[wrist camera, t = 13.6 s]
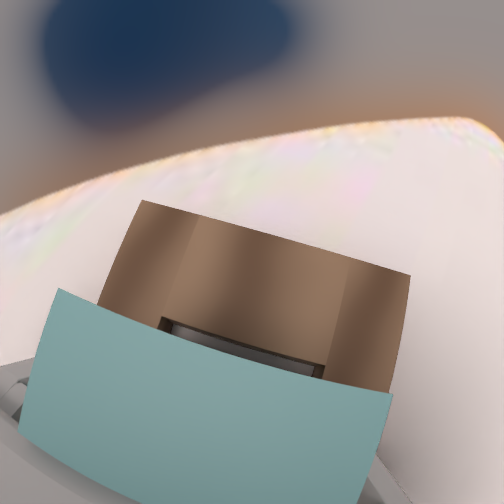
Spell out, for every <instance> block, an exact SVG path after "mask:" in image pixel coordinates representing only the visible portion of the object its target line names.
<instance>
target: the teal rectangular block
mask: <svg viewBox="0 0 504 504" xmlns="http://www.w3.org/2000/svg"><path fill="white" fill-rule="evenodd" d="M392 397H393V394H389V393H383V392H378V391H373V390H367V389H363V388H358V387H353V386H348V385H344V384H339V383H335V382H330V381H326V380H322V379H317V378H313V377H309V376H305V375H301V374H297V373H293V372H290V371H286V370H282V369H278V368H275V367H271V366H268V365H264V364H261V363H257V362H254V361H250V360H247V359H244V358H240V357H237V356H234V355H231V354H227V353H224V352H221V351H218V350H215V349H212V348H209V347H206V346H203V345H200V344H197V343H194V342H191V341H188V340H185V339H182V338H179V337H177V336H174V335H171V334H168V333H166V332H163V331H160V330H158V329H155V328H152V327H150V326H147V325H144V324H142V323H139V322H137V321H134V320H132V319H129V318H127V317H124V316H122V315H119V314H117V313H114V312H112V311H110V310H107V309H105V308H102V307H100V306H98V305H95V304H93V303H91V302H89V301H86V300H84V299H82V298H80V297H77V296H75V295H73V294H71V293H69V292H66V291H64V290H62V289H60V288H58V290H57V293H56V296H55V298H54V301H53V304H52V306H51V309H50V312H49V315H48V318H47V321H46V324H45V326H44V330H43V333H42V336H41V339H40V342H39V345H38V348H37V352H36V355H35V359H34V362H33V366H32V369H31V373H30V377H29V381H28V385H27V389H26V393H25V397H24V402H23V406H22V411H21V416H20V421H19V426H18V431H17V432H18V433H20V434H21V435H22V436H24V437H25V438H26V439H28V440H29V441H31V442H32V443H33V444H35V445H36V446H38V447H39V448H41V449H42V450H44V451H45V452H47V453H48V454H50V455H51V456H53V457H54V458H56V459H57V460H59V461H61V462H62V463H64V464H66V465H67V466H69V467H71V468H72V469H74V470H76V471H77V472H79V473H81V474H83V475H84V476H86V477H88V478H90V479H92V480H94V481H96V482H97V483H99V484H101V485H103V486H105V487H107V488H109V489H111V490H113V491H115V492H118V493H120V494H122V495H124V496H126V497H128V498H131V499H133V500H135V501H137V502H140V503H142V504H357V501H358V499H359V496H360V494H361V492H362V489H363V486H364V484H365V481H366V479H367V476H368V473H369V471H370V468H371V465H372V462H373V459H374V457H375V454H376V451H377V448H378V445H379V442H380V438H381V435H382V432H383V429H384V426H385V422H386V419H387V415H388V412H389V408H390V404H391V401H392Z"/></svg>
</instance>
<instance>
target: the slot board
mask: <svg viewBox="0 0 504 504" xmlns="http://www.w3.org/2000/svg"><path fill="white" fill-rule="evenodd" d="M410 277H411V275H407V274H404V273H401V272H397V271H394V270H391V269H388V268H384V267H381V266H378V265H374V264H371V263H367V262H364V261H361V260H357V259H354V258H351V257H347V256H344V255H340V254H337V253H334V252H330V251H327V250H323V249H320V248H316V247H313V246H309V245H306V244H302V243H299V242H295V241H292V240H288V239H285V238H281V237H278V236H274V235H271V234H267V233H263V232H260V231H256V230H253V229H249V228H245V227H242V226H238V225H235V224H231V223H227V222H224V221H220V220H216V219H213V218H209V217H205V216H201V215H198V214H194V213H190V212H186V211H183V210H179V209H175V208H171V207H168V206H164V205H160V204H156V203H152V202H148V201H145V200H142V201H141V203H140V205H139V207H138V209H137V211H136V213H135V215H134V218H133V220H132V222H131V224H130V226H129V228H128V231H127V233H126V235H125V237H124V240H123V242H122V244H121V246H120V249H119V251H118V253H117V256H116V258H115V260H114V263H113V265H112V268H111V270H110V272H109V275H108V277H107V280H106V282H105V285H104V287H103V290H102V293H101V295H100V298H99V300H98V303H97V305H98V306H100V307H102V308H105V309H107V310H110V311H112V312H114V313H117V314H119V315H122V316H124V317H127V318H129V319H132V320H134V321H137V322H139V323H142V324H144V325H147V326H150V327H152V328H155V329H158V330H160V331H163V332H166V333H168V334H170V331H171V329H172V326H173V324H176V325H179V326H182V327H185V328H188V329H191V330H194V331H197V332H200V333H203V334H206V335H209V336H212V337H215V338H218V339H221V340H224V341H227V342H231V343H234V344H237V345H240V346H244V347H247V348H250V349H254V350H257V351H261V352H264V353H268V354H271V355H275V356H278V357H282V358H286V359H289V360H293V361H297V362H301V363H305V364H308V365H312V366H315V368H314V372H313V375H312V377H313V378H317V379H322V380H326V381H330V382H335V383H339V384H344V385H348V386H353V387H358V388H363V389H367V390H373V391H378V392H383V393H389V389H390V385H391V381H392V377H393V373H394V368H395V364H396V359H397V355H398V350H399V345H400V340H401V335H402V329H403V324H404V318H405V312H406V306H407V299H408V292H409V285H410Z"/></svg>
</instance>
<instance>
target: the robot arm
mask: <svg viewBox="0 0 504 504" xmlns="http://www.w3.org/2000/svg"><path fill="white" fill-rule="evenodd" d="M34 359H35V358H31V359H27V360H23V361H19V362H15V363H11V364H7V365H4V366H1V367H0V504H142V503H140V502H137V501H135V500H133V499H131V498H128V497H126V496H124V495H122V494H120V493H118V492H115V491H113V490H111V489H109V488H107V487H105V486H103V485H101V484H99V483H97V482H96V481H94V480H92V479H90V478H88V477H86V476H84V475H83V474H81V473H79V472H77V471H76V470H74V469H72V468H71V467H69V466H67V465H66V464H64V463H62V462H61V461H59V460H57V459H56V458H54V457H53V456H51V455H50V454H48V453H47V452H45V451H44V450H42V449H41V448H39V447H38V446H36V445H35V444H33V443H32V442H31V441H29V440H28V439H26V438H25V437H24V436H22V435H21V434H20V433H18V432H17V431H18V426H19V421H20V416H21V411H22V406H23V402H24V397H25V393H26V389H27V385H28V381H29V377H30V373H31V369H32V366H33V362H34ZM357 504H412V503H411V501H410V500H409V499H408V497H407V496H406V495H405V493H404V492H403V491H402V489H401V488H400V486H399V485H398V484H397V482H396V481H395V480H394V478H393V477H392V476H391V474H390V473H389V471H388V470H387V469H386V467H385V466H384V465H383V463H382V462H381V460H380V459H379V458H378V456H377V455H376V454H375V457H374V459H373V462H372V465H371V468H370V471H369V473H368V476H367V479H366V481H365V484H364V486H363V489H362V492H361V494H360V496H359V499H358V501H357Z"/></svg>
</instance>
